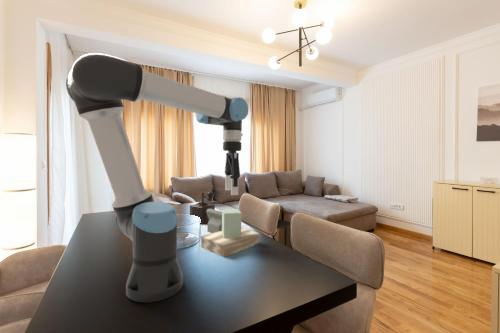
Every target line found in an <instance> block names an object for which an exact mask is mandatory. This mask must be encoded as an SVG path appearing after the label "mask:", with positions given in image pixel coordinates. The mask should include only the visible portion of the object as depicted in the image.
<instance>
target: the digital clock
mask: <svg viewBox="0 0 500 333" xmlns="http://www.w3.org/2000/svg"><path fill="white" fill-rule="evenodd" d="M206 212H207V216H208V219H209V222H208V223H207V226H206V227H207V230H206V231H207V232H209V233H210V234H211V233H215V232H218V231H222V210H221V211H220V210H218V209H217V210H216V209H215V210H213V209H207V211H206Z"/></svg>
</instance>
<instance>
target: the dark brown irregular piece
mask: <svg viewBox="0 0 500 333" xmlns="http://www.w3.org/2000/svg"><path fill="white" fill-rule="evenodd" d="M200 196H201V201H199V202H197V203H195V204H191V205H189V216H190V215H195V216H198V217H200V219H201V224H200V225H208V222H209V219H208V216H207V212H206V211H207V209H213V210H216V208H215V207H216V205H215V204H213V203H212V204H211V203H208V202H212V201H213V198H214V196H215V193H214V192H213V191H208V192H207V193H206V195H205V192H204V191H203V192H201V195H200ZM204 198H205V199H206V201H208V202H206V201H204Z"/></svg>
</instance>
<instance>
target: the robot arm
mask: <svg viewBox="0 0 500 333" xmlns="http://www.w3.org/2000/svg"><path fill="white" fill-rule="evenodd" d="M65 80H66V81H65V86H66V87H65V88H66V91H67V94H68V95H69V97H70V98H71V100H72V101H73V102H74V104H75V107H76V110H77V113H78V115H79V117H80V118H82V119H84V120H86V121H87V122H88V125H89V127H90V131H91V133H92V136H93V138H94V139H93V140H94V142H95V144H96V147H97V150H98V153H99V155H100V156H99V157H100V159H101V161H102V164H103V167H104V169H105V172H106V175H107V177H108V180H109V184H110V186H111V189H112V191H113V192H112V193H114V194H113V195H114V197H115V199H114V201H113V203H112V209H113V211H114V214H115V224H116V227H117V229H118V230H119V231H120V232H121V233H122V234H123V235H124V236H126V237H127V238H128V239H129V240H130V241H131V242H132V265H131V268H130V271H129V274H128V276H127V280H126V283H125V296H126V297H127V299H129V300H131V301H133V302H136V303H153V302H154V303H155V302H159V301H163V300H166V299H169V298H171V297H173V296H174V295H176V294H178V293H179V292H180V291H181V290H182V288H183V285H184V275H183V272H182V269H181V266H180V263H179V260H178V223H179V222H178V220H179V218H178V213H177V209H176V207H175V206H173V205H172V204H171V203H166V202H162V201H155V200H154V197H153V194H152V192H151V191H150V190H147V189H146V188H145V186H144V183H143V180H142V177H141V173H140V171H139V168H138V165H137V162H136V159H135V155H134V153H133V149H132V147H131V143H130V139H129V136H128V134H127V130H126V128H125V125H124V121H123V119H122V116H121V115H122V113H123V111H124V109H125V107H124V104H123V101H129V102H133V103H136V102H138V101H140V100H141V101H145V102H150V103H153V104H158V105H163V106H166V107H170V108H174V109H178V110H183V111H186V112H192V113H193V114H195V118H196V120H197V122H198V123H200V124H205V125H212V126H214V125H215V126H223V131H222V139H223V143H222V150H223V151H226V154H225V155H226V157H225V167H224V174H225V186H224V187H225V188H224V190H225V191H230V196H239V184H240V183H239V182H240V181H239V180H240V177H241V171H240V160H239V152H241V151H242V142H241V141H242V136H243V135H244V133H242V131H243V130H242V129H243V128H242V127H243V126H242V124H243V120H245V119H246V118H247V117H248V115H249V105H248V102H247V101H246V99H244V98H242V97H233V98H230V97H226V96H225V95H224V96H223V95H220V94H218V93H213V92H211V91H208V90H204V89H202V88H199V87H196V86H193V85H190V84H186V83H183V82H180V81H177V80H174V79H171V78H168V77H166V76H162V75H159V74H155V73H153V72H149V71H146V70H145V69H144V67H143V65H141V64H139V63H135V62H133V61H130V60H126V59H123V58H120V57H117V56H113V55H109V54H105V53H95V52H93V53H87V54H83V55H81V56H80V57H78V58H77V60H75V62H74V63H73V65H72V68H71V70H70V71H69V73H67V75H66V79H65ZM122 100H123V101H122Z"/></svg>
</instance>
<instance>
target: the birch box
mask: <svg viewBox="0 0 500 333" xmlns="http://www.w3.org/2000/svg"><path fill="white" fill-rule="evenodd" d="M260 235H261V233H259V232H257V231H254V230H253V231H252V230H250V229H247V228H242V227H241V237H234V238H224V237H223V234H222V231H218V232H215V233H211V232H210V233H208V234H203V235H201V236H200V239H201V241H200V242H201V243H200V246H201V248H202V249H205V250H207V251H209V252H211V253H214V254H215V255H219V256H221V257H223V258H225V257H228V256H230V255H233V254H235V253H238V251H239V252H241V251H244V250H246V249H245V248H247V249H249V248H251V247H250V246H252V247H254V246H253V245H255V244H257V243H259V244H260ZM257 245H258V244H257ZM255 246H256V245H255ZM248 247H249V248H248ZM243 249H244V250H243ZM240 250H241V251H240Z"/></svg>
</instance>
